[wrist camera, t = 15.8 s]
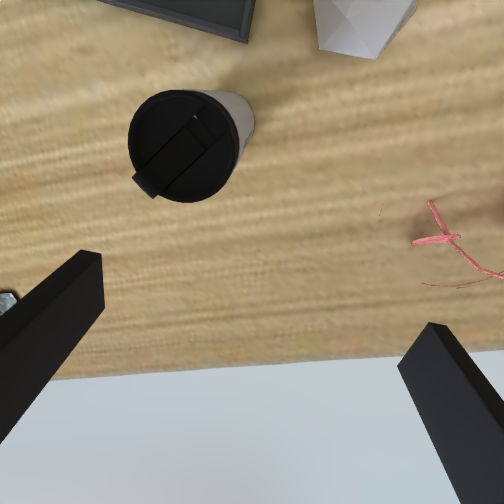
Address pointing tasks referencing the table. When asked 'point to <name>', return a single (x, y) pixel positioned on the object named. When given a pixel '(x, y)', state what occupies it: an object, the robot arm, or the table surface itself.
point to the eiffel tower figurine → (6, 302)
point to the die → (360, 24)
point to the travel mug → (188, 142)
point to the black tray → (199, 14)
